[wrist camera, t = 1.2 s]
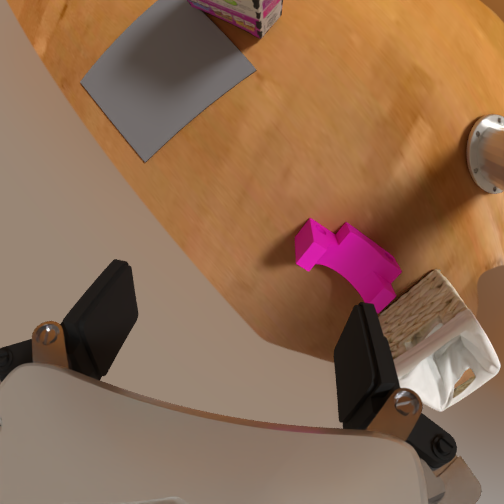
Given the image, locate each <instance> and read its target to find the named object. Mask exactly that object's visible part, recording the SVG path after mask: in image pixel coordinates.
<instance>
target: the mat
mask: <svg viewBox="0 0 504 504" xmlns="http://www.w3.org/2000/svg"><path fill="white" fill-rule="evenodd" d="M255 71H256V69H255V68H254V67H253V65H252V64H251V63H250V62H249V61H248V60H247V58H246V57H245V56H244V55H243V54H242V53H241V52H240V51H239V49H238V48H237V47H236V46H235V45H234V44H233V43H232V42H231V41H230V40H229V39H228V38H227V36H226V35H225V34H224V33H223V32H222V31H221V30H220V29H219V28H218V27H217V26H216V25H215V24H214V23H213V22H212V21H211V20H210V19H209V18H208V17H207V16H206V15H205V14H204V13H203V12H202V11H201V10H199V9H197V8H194V7H192V6H191V5H190V4H189V2H188V1H187V0H158V1H157V2H155V3H154V4H153V5H152V6H151V7H150V8H148V9H147V10H146V11H145V12H144V13H143V14H142V15H141V16H140V17H139V18H137V19H136V20H135V21H134V22H133V23H132V24H131V25H130V26H129V27H128V28H127V29H126V30H125V31H124V32H123V33H122V34H121V35H120V36H119V37H118V38H117V39H116V40H115V41H114V43H113V44H112V45H111V46H110V47H109V48H108V49H107V50H106V51H105V52H104V54H103V55H102V56H101V57H100V58H99V59H98V61H97V62H96V63H95V64H94V65H93V66H92V68H91V69H90V70H89V71H88V73H87V74H86V75H85V76H84V78H83V79H82V80H81V82H80V83H81V84H82V85H83V86H84V88H85V89H86V90H87V91H88V93H89V94H90V95H91V97H92V98H93V99H94V100H95V102H96V103H97V104H98V105H99V107H100V108H101V109H102V110H103V112H104V113H105V114H106V115H107V117H108V118H109V119H110V120H111V121H112V123H113V124H114V125H115V126H116V128H117V129H118V130H119V131H120V133H121V134H122V135H123V136H124V137H125V139H126V140H127V141H128V142H129V144H130V145H131V146H132V147H133V148H134V150H135V151H136V152H137V153H138V155H139V156H140V157H141V158H142V159H143V161H144V162H147V161H148V160H149V159H150V158H151V157H152V156H153V155H154V154H155V153H156V152H157V151H158V150H159V149H160V148H161V147H162V146H163V145H164V144H165V143H167V142H168V141H169V140H170V139H171V138H172V137H173V136H174V135H175V134H176V133H178V132H179V131H180V130H181V129H182V128H183V127H184V126H186V125H187V124H188V123H189V122H190V121H191V120H193V119H194V118H195V117H196V116H197V115H199V114H200V113H201V112H202V111H203V110H205V109H206V108H207V107H208V106H209V105H211V104H212V103H213V102H215V101H216V100H217V99H218V98H220V97H221V96H222V95H223V94H225V93H226V92H227V91H229V90H230V89H231V88H233V87H234V86H235V85H237V84H238V83H239V82H241V81H242V80H244V79H245V78H246V77H248V76H249V75H251V74H252V73H254V72H255Z"/></svg>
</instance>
